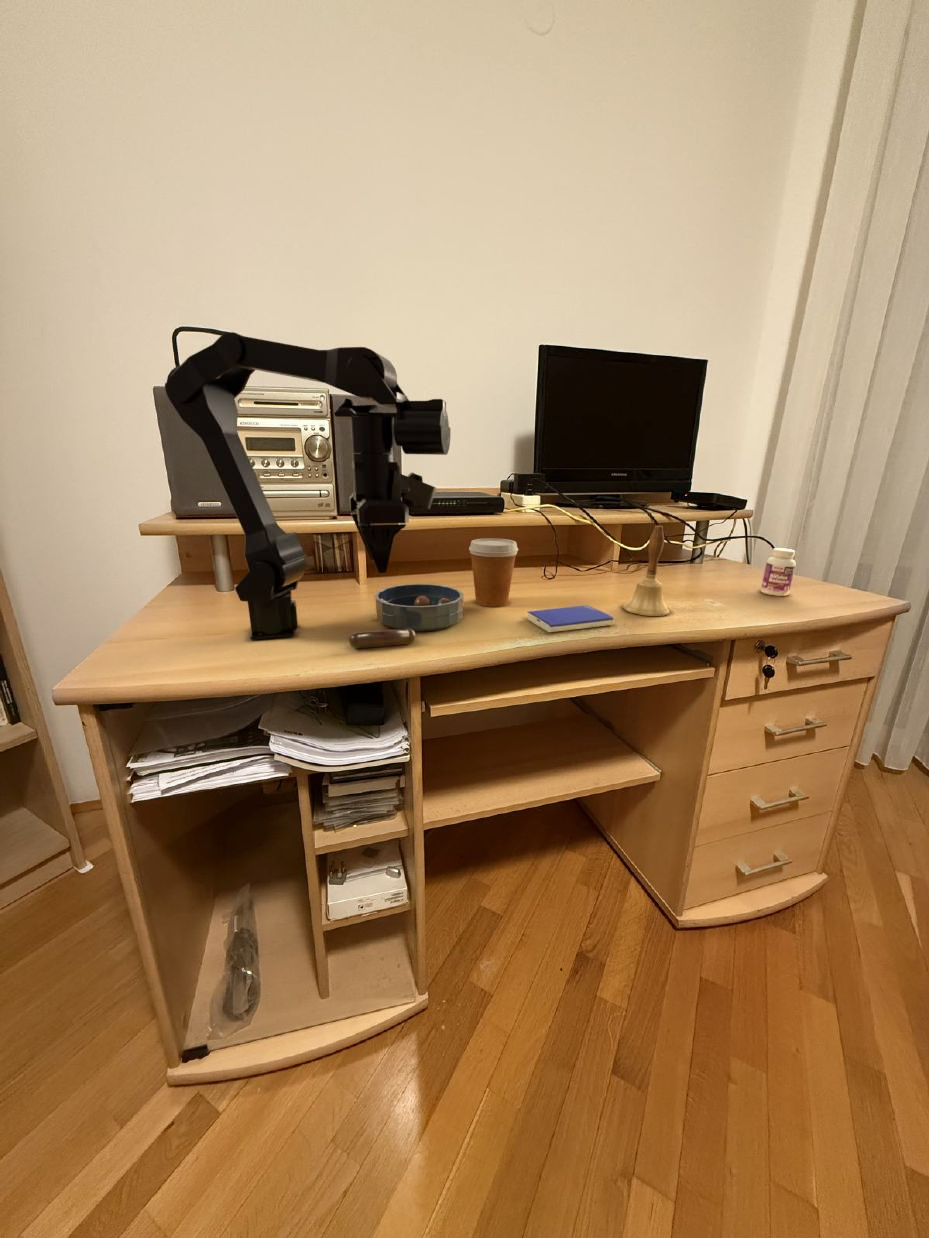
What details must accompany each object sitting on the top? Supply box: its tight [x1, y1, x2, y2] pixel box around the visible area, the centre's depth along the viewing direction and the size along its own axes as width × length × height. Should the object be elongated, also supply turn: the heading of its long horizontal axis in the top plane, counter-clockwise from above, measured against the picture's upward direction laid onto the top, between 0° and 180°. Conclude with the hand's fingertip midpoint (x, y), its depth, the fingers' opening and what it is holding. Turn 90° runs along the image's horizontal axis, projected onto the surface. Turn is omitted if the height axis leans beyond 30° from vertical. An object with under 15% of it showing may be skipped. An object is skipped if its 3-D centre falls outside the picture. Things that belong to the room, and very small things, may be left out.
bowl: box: [373, 583, 464, 632], centre depth 85 cm, size 15×15×4 cm
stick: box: [348, 628, 417, 650], centre depth 73 cm, size 10×2×2 cm
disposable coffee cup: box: [468, 537, 520, 608], centre depth 95 cm, size 10×10×12 cm
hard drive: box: [526, 604, 614, 633], centre depth 86 cm, size 2×8×12 cm
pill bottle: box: [760, 547, 797, 597], centre depth 106 cm, size 5×5×10 cm
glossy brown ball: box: [414, 596, 431, 606], centre depth 87 cm, size 3×3×3 cm
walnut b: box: [437, 598, 452, 605], centre depth 85 cm, size 3×3×3 cm
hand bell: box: [622, 525, 670, 617], centre depth 91 cm, size 8×8×16 cm
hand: (378, 566), depth 72 cm, fingers open, 9 cm apart
